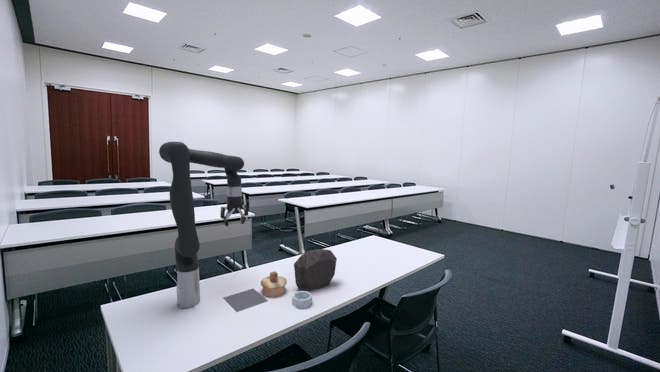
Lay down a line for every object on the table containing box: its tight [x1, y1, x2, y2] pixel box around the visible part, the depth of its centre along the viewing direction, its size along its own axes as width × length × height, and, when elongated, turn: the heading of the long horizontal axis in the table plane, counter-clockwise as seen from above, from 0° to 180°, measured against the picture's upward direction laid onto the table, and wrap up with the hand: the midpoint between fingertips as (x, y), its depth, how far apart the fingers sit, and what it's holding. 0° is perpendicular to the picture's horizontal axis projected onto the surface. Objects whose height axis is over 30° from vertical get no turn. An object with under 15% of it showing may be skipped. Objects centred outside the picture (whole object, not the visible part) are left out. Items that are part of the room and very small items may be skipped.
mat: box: [223, 288, 269, 313], centre depth 150 cm, size 16×16×1 cm
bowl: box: [262, 285, 286, 298], centre depth 158 cm, size 11×11×5 cm
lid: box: [260, 271, 288, 289], centre depth 157 cm, size 13×13×5 cm
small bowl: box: [291, 290, 313, 310], centre depth 148 cm, size 9×9×4 cm
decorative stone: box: [293, 248, 337, 291], centre depth 165 cm, size 24×9×20 cm, turn 123°
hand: (234, 224), depth 163 cm, fingers open, 8 cm apart
